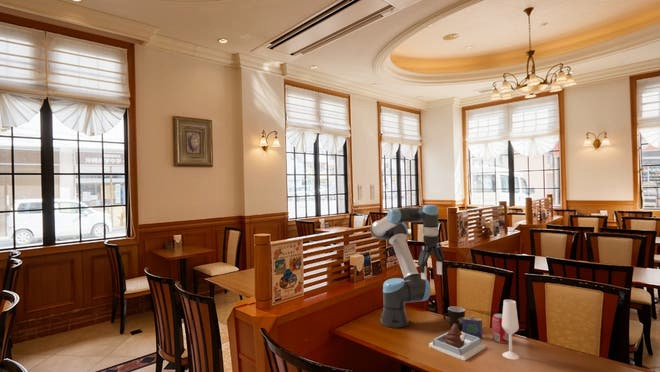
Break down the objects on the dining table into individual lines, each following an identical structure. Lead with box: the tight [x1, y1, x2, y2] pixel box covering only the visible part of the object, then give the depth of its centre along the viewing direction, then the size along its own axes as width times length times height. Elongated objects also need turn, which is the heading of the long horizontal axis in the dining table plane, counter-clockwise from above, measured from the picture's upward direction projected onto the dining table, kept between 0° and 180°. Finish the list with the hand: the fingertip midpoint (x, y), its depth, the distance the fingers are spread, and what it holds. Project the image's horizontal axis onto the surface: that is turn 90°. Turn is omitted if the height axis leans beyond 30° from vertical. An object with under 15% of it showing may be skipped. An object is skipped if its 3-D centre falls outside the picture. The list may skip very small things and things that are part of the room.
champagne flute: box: [501, 299, 520, 360], centre depth 157 cm, size 7×7×24 cm
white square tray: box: [428, 330, 486, 362], centre depth 166 cm, size 18×18×4 cm
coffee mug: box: [443, 306, 466, 331], centre depth 188 cm, size 12×9×10 cm
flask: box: [462, 314, 484, 339], centre depth 177 cm, size 9×3×11 cm, turn 74°
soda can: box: [491, 313, 509, 344], centre depth 172 cm, size 7×7×12 cm
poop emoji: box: [446, 323, 465, 348], centre depth 166 cm, size 10×8×9 cm
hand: (431, 276), depth 183 cm, fingers open, 13 cm apart
